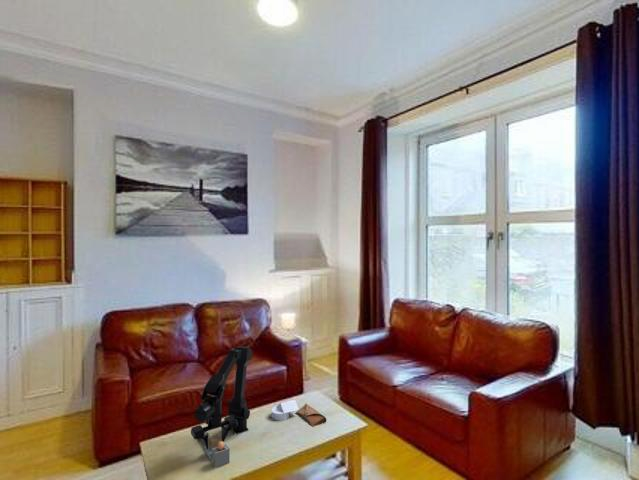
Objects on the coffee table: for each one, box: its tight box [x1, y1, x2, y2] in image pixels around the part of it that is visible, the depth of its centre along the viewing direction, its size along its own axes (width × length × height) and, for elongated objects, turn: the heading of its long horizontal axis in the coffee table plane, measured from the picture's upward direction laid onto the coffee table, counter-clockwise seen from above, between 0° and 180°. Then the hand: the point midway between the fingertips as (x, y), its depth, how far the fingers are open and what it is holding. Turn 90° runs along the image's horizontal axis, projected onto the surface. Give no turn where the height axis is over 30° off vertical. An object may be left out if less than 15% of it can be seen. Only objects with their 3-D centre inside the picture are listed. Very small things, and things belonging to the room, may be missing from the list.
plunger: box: [218, 441, 225, 451], centre depth 153 cm, size 2×2×3 cm
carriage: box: [204, 434, 221, 460], centre depth 159 cm, size 6×6×7 cm
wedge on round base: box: [271, 399, 300, 421], centre depth 194 cm, size 9×7×13 cm
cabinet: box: [211, 443, 231, 469], centre depth 153 cm, size 6×4×6 cm, turn 126°
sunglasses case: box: [295, 403, 327, 427], centre depth 192 cm, size 18×7×7 cm
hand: (214, 446), depth 159 cm, fingers open, 6 cm apart
